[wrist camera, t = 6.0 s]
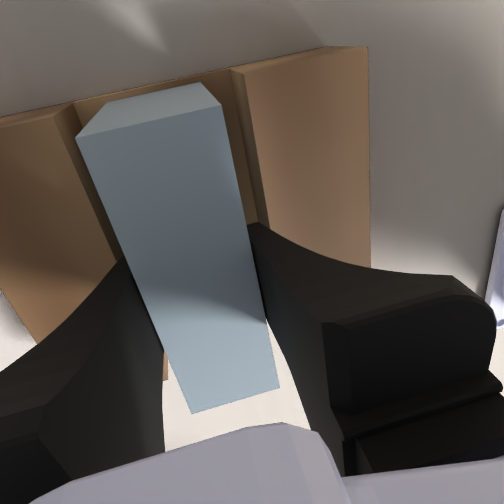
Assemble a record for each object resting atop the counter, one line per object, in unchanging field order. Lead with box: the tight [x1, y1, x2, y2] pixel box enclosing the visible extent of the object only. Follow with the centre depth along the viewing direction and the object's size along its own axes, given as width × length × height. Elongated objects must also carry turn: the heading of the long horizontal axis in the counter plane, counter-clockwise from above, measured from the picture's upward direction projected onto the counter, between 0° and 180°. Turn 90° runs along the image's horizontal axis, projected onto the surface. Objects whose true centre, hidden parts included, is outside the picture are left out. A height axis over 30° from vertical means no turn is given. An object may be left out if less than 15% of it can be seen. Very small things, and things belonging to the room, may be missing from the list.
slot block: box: [0, 46, 371, 381], centre depth 13 cm, size 12×10×3 cm
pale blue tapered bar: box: [75, 82, 280, 414], centre depth 12 cm, size 3×9×5 cm, turn 10°
